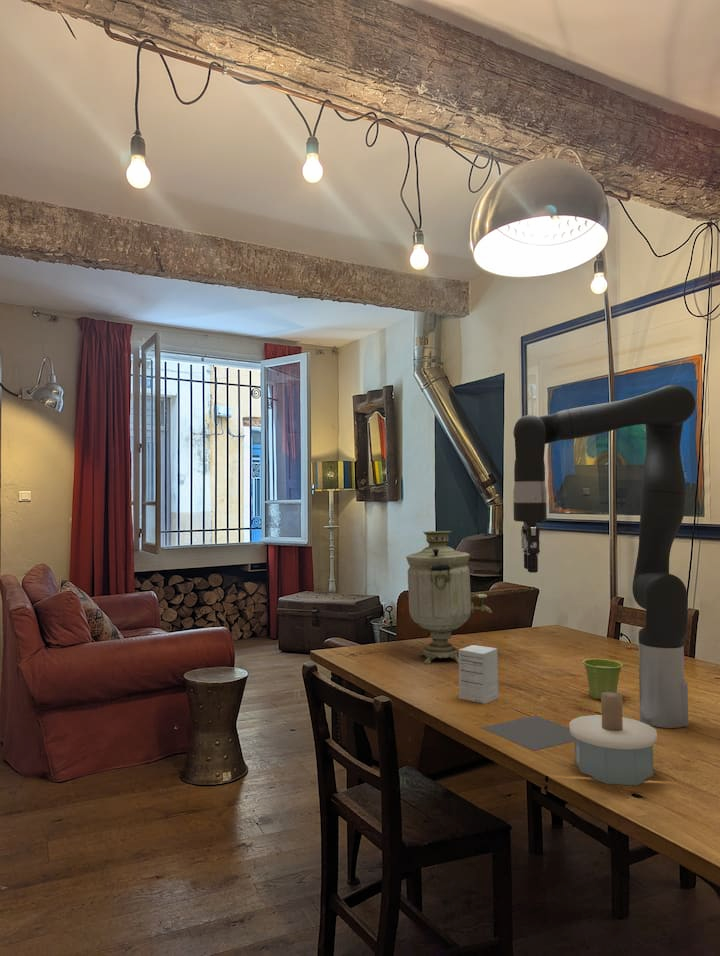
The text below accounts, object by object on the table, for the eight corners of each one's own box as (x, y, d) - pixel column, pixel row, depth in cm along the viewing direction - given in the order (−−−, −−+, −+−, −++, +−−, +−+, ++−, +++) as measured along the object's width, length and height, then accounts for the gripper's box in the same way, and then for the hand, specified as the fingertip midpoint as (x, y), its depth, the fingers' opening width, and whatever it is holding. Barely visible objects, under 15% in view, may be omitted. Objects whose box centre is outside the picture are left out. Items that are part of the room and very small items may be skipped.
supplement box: (473, 693, 174) (472, 644, 174) (499, 699, 169) (498, 648, 169) (458, 700, 168) (457, 649, 168) (484, 706, 163) (484, 653, 164)
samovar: (483, 674, 193) (482, 534, 194) (395, 667, 201) (394, 533, 203) (497, 652, 221) (496, 530, 223) (419, 647, 229) (418, 529, 231)
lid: (644, 723, 130) (643, 685, 130) (667, 751, 115) (667, 708, 116) (563, 719, 132) (563, 682, 133) (576, 747, 118) (576, 705, 118)
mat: (535, 717, 154) (535, 715, 154) (591, 738, 140) (591, 736, 140) (480, 729, 146) (480, 727, 146) (534, 753, 132) (533, 750, 132)
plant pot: (610, 691, 175) (609, 657, 176) (630, 702, 166) (630, 666, 166) (576, 693, 174) (576, 659, 174) (595, 704, 165) (595, 668, 165)
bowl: (640, 759, 129) (639, 724, 129) (659, 786, 116) (659, 748, 117) (571, 755, 131) (571, 721, 131) (583, 782, 118) (583, 745, 119)
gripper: (550, 501, 151) (551, 574, 151) (542, 501, 165) (543, 567, 165) (516, 501, 152) (516, 573, 152) (511, 501, 166) (511, 567, 166)
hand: (530, 570), depth 158 cm, fingers open, 8 cm apart
